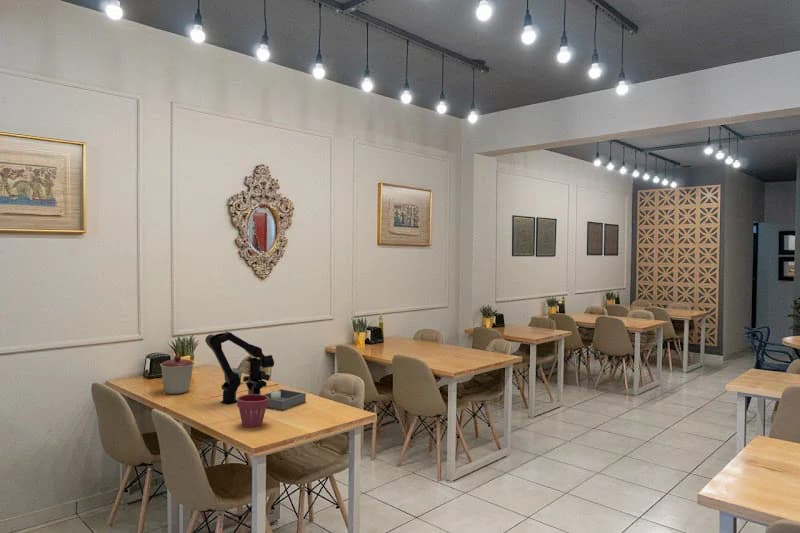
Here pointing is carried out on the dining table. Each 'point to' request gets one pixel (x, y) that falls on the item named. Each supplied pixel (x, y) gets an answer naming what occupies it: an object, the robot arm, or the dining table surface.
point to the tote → (286, 400)
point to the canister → (176, 375)
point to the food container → (238, 371)
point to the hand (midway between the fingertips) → (254, 396)
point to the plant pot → (252, 409)
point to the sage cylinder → (276, 395)
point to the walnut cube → (250, 391)
